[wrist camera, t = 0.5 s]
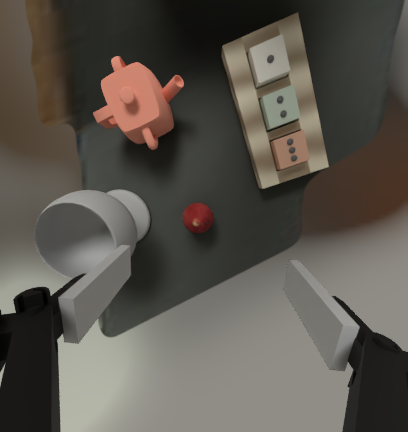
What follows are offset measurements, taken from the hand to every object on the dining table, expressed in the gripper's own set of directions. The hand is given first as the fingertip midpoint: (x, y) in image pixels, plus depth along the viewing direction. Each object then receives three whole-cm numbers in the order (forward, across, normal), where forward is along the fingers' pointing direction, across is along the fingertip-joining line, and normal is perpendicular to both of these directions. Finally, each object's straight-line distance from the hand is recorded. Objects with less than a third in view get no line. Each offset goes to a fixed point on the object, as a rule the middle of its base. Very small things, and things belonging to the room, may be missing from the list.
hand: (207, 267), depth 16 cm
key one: (+23, +7, +25) cm, 35 cm away
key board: (+25, +10, +18) cm, 32 cm away
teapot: (+25, -12, +17) cm, 33 cm away
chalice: (+25, -19, -4) cm, 31 cm away
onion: (+25, -2, -2) cm, 25 cm away
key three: (+23, +13, +12) cm, 29 cm away
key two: (+23, +10, +18) cm, 31 cm away
